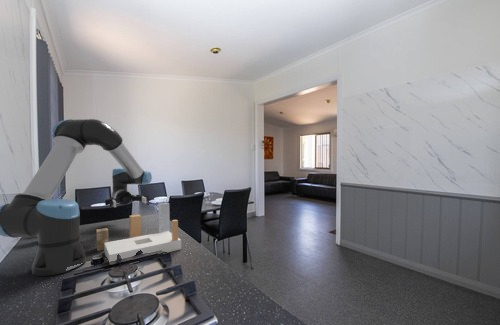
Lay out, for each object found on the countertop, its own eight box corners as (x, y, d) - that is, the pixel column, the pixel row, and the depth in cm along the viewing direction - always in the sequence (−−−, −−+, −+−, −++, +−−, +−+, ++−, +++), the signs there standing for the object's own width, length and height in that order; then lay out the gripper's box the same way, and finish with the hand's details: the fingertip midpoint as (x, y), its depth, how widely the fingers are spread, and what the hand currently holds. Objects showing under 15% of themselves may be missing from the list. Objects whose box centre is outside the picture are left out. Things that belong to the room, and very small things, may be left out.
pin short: (97, 251, 101) (97, 231, 101) (96, 248, 105) (96, 229, 105) (108, 248, 104) (108, 229, 104) (107, 246, 107) (107, 227, 107)
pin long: (161, 238, 117) (160, 204, 117) (159, 236, 120) (158, 203, 120) (170, 236, 119) (169, 203, 119) (167, 234, 123) (166, 202, 122)
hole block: (109, 266, 87) (108, 232, 86) (104, 252, 99) (103, 223, 99) (181, 249, 102) (180, 220, 102) (168, 239, 115) (168, 213, 115)
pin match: (131, 244, 109) (131, 217, 109) (130, 241, 112) (129, 215, 112) (141, 242, 112) (140, 215, 111) (139, 239, 115) (138, 214, 115)
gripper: (146, 200, 145) (157, 206, 127) (97, 206, 130) (101, 214, 113) (146, 188, 144) (157, 192, 127) (96, 192, 129) (101, 197, 112)
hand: (131, 202), depth 120 cm, fingers open, 13 cm apart
